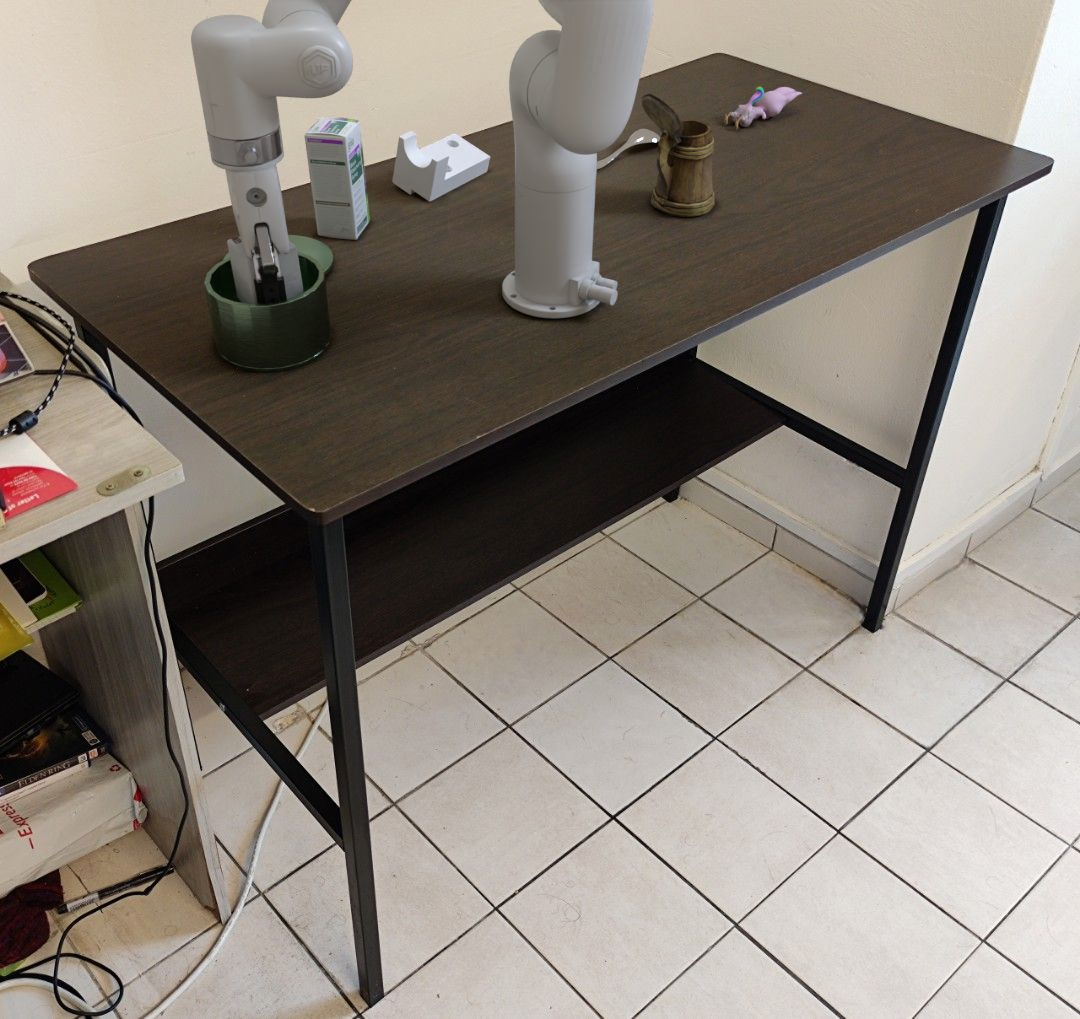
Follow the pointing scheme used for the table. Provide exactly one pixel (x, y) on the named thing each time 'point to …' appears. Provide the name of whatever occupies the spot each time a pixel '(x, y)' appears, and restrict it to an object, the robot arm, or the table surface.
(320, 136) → the syrup box
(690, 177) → the wooden mug
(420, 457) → the table surface
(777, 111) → the pink creature figurine
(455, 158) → the bracket
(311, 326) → the tin
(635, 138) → the metal spoon
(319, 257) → the tin lid
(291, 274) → the product carton
